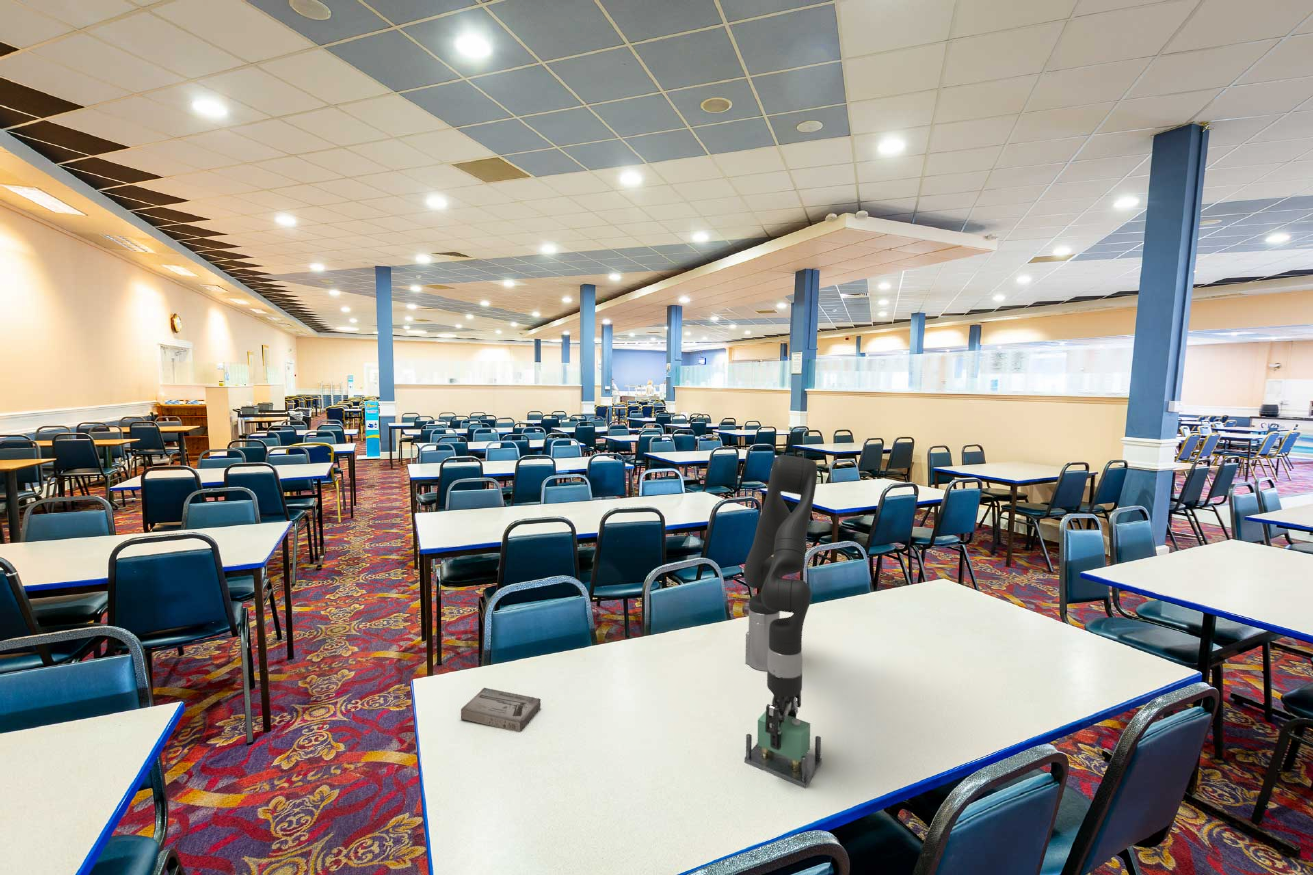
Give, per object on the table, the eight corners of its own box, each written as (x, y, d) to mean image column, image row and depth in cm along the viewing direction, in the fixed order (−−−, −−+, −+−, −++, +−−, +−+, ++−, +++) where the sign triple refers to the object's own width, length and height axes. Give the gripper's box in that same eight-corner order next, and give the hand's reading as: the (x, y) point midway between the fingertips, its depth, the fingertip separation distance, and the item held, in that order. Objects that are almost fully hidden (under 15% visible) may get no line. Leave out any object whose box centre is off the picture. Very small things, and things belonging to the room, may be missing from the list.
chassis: (744, 762, 123) (744, 736, 122) (763, 739, 131) (763, 715, 130) (805, 787, 115) (805, 760, 114) (821, 762, 123) (822, 736, 122)
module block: (757, 745, 123) (757, 716, 123) (767, 733, 128) (768, 705, 127) (800, 762, 117) (801, 732, 117) (809, 749, 122) (810, 720, 121)
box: (483, 697, 149) (483, 686, 148) (541, 708, 144) (541, 697, 144) (459, 720, 138) (459, 708, 138) (520, 733, 134) (520, 721, 133)
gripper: (781, 651, 129) (780, 717, 130) (754, 676, 118) (753, 748, 119) (812, 660, 125) (811, 728, 126) (788, 686, 113) (786, 761, 114)
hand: (783, 738), depth 122 cm, fingers open, 8 cm apart
